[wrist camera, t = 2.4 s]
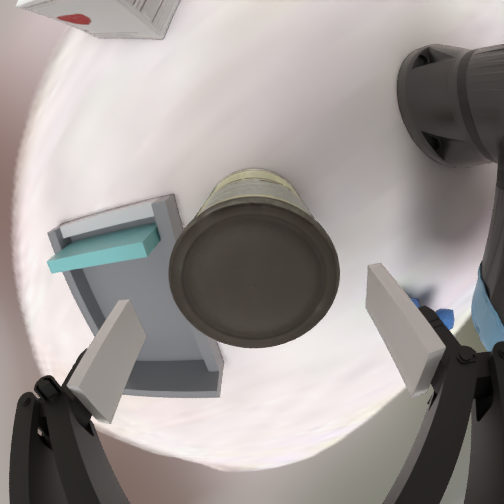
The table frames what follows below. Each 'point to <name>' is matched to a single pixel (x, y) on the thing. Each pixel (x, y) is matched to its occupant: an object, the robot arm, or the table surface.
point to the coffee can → (254, 263)
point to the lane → (145, 303)
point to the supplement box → (109, 16)
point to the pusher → (107, 248)
